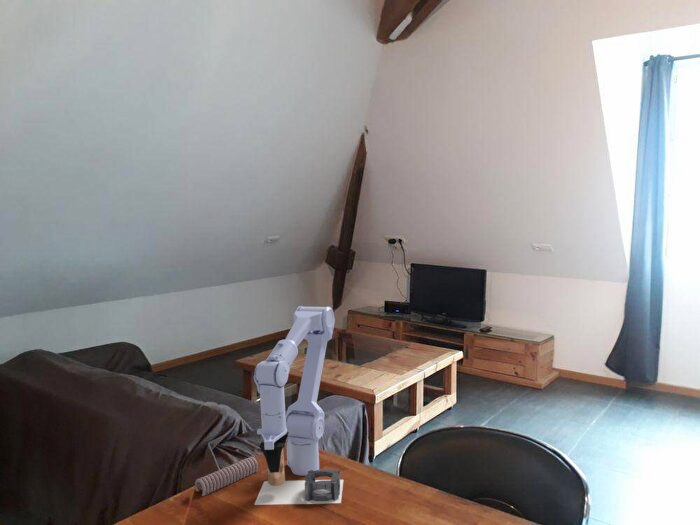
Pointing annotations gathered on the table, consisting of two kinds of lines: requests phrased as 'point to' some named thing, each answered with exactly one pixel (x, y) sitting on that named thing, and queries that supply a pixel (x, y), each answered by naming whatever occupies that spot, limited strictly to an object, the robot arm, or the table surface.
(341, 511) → the table surface
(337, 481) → the collar stand
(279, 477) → the tube
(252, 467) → the coil
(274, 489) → the base board
